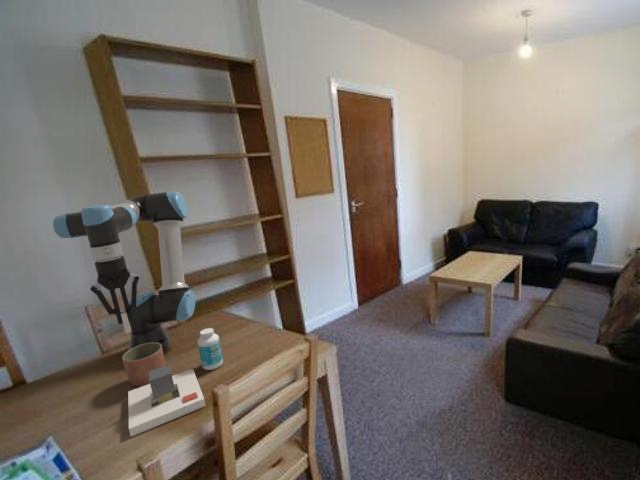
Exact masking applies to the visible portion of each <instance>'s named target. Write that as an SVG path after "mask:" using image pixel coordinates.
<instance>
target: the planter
mask: <svg viewBox="0 0 640 480" xmlns="http://www.w3.org/2000/svg"><path fill="white" fill-rule="evenodd" d="M121 361H122V364H123V367H124V369H125V373H126V376H127V378H128V380H129V383H130V384H131V385H132V386H134V387H137V388H139V387H142V386H145V385H148V384H150V381H149V373H148V372H149V371H152V370H155V369H158V368H160V367H163V366H166V361H165V356H164V351H163V349H162V345H161V344H160V343H156V342H152V343H145V344H142V345H139V346H136V347H134V348H132V349H130V350H129V349H128V350H127V351H125V352H124V354H123V355H122V357H121Z"/></svg>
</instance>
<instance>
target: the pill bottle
mask: <svg viewBox="0 0 640 480" xmlns="http://www.w3.org/2000/svg"><path fill="white" fill-rule="evenodd" d="M214 331H215V330H214V328H212V327H209V328H204V329H202V330H200V331H199V336H200V337H199V338H198V339H197V347H198V351H199V353H198V354H199V358H200V363H201V367H202V369H203V370H205V371H211V370H215V369H218V368H219V367H221V365H223V363H224V359H223V352H222V347H221V341H220V336H219V335H218V334H216V333H215V332H214Z"/></svg>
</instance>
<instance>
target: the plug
mask: <svg viewBox="0 0 640 480" xmlns="http://www.w3.org/2000/svg"><path fill="white" fill-rule="evenodd" d="M148 373H149V381H150V385H151V389H152V394H153V398H154V399H155V398H158V401H159V404H162V403H164V402H167V401H170V400H172V399H173V396H172V392H174V391H175V388H174V383H173V379H172V376H173V374H172V370H171V367H170V364H167V365H166V364H165V366H163V367H160V368H158V369H155V370H152V371H149V372H148Z"/></svg>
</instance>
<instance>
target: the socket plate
mask: <svg viewBox="0 0 640 480" xmlns="http://www.w3.org/2000/svg"><path fill="white" fill-rule="evenodd" d="M172 379H173V383H174V388H175V391H174V392H172V396H173V399H172V400H170V401H167V402H164V403H162V404H159V401H158V398H155V399H154V398H153V394H152V389H151V385H150V384H148V385H145V386H142V387H137V388H133V389H132V390H128V391H127V393H128V395H127V397H128V401H127V402H128V405H127V406H128V431H129V434H130V435H129V436H130V437H131V438H132V437H133V436H137V435H139V434H141V433H144V432H146V431H148V430H150V429H153V428H156V427H159V426H161V425H163V424H165V423H168V422H170V421H172V420H175V419H177V418H180V417H182V416H185V415H188V414H190V413H193V412H195V411H197V410H199V409H202V408H204V407H206V406H207V405H206V402H205V401H206V400H205V398H204V395H203V392H202V389H201V386H200V384H199V381H198V378H197V376H196V374H195V370H194V368H191V369H188V370H184V371H182V372H179V373H176V374H174V375H173V374H172Z"/></svg>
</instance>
